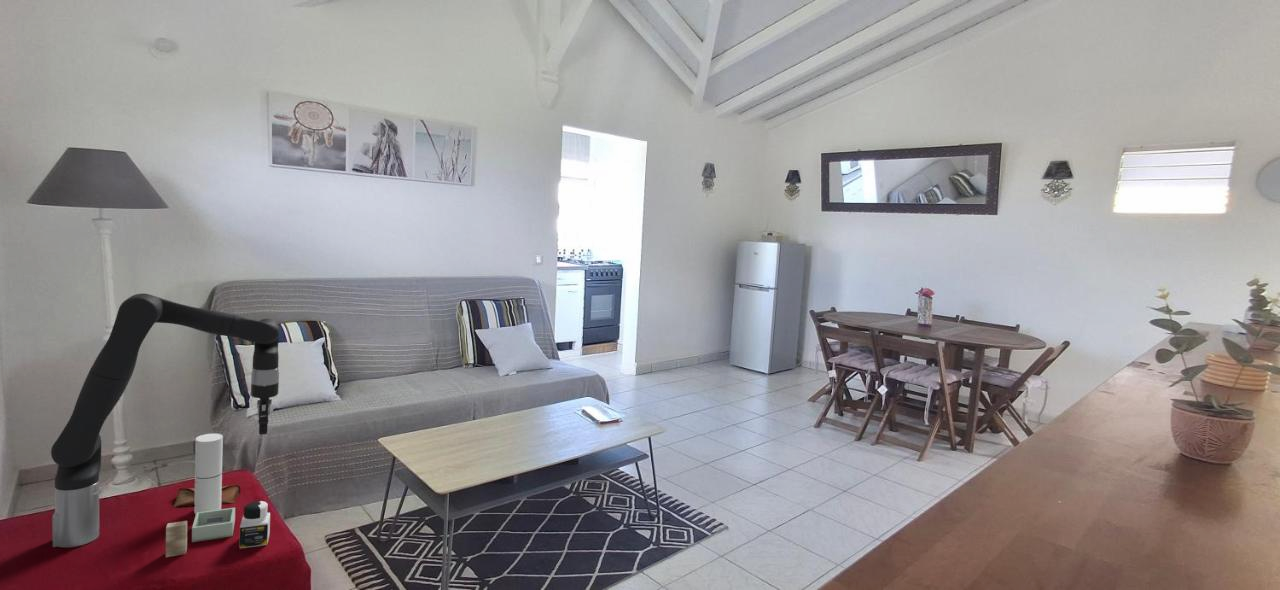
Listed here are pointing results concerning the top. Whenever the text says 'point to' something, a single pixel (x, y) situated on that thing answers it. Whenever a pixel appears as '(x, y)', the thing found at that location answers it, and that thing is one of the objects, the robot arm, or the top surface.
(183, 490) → the sunglasses case
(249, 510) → the medicine bottle
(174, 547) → the beige wooden block
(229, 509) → the open box
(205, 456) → the cylindrical container
